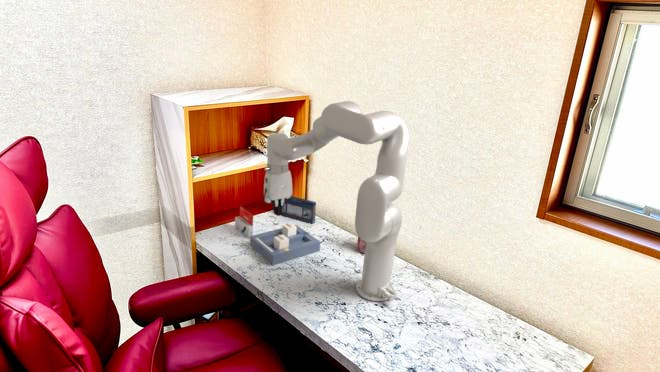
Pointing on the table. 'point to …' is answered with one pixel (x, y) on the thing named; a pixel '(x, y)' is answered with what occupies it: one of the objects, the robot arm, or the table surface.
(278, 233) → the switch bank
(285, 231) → the tab
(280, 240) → the tab
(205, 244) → the table surface
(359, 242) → the soda can
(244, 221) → the ink box
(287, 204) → the vhs cassette tape
